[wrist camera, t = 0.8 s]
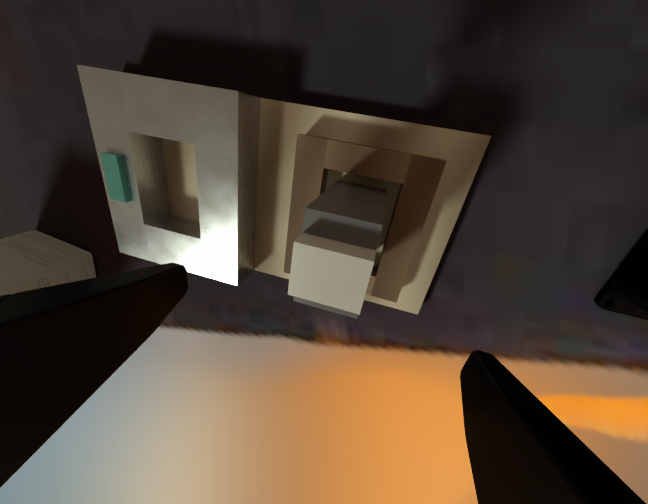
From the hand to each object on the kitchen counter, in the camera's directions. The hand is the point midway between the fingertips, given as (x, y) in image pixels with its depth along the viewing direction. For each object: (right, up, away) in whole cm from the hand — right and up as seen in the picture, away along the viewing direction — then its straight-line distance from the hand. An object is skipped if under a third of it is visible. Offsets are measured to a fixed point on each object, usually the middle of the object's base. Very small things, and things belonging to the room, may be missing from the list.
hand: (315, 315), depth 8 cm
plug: (+2, +4, +9) cm, 10 cm away
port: (-9, +7, +12) cm, 16 cm away
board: (-3, +6, +11) cm, 13 cm away
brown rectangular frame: (+3, +4, +10) cm, 11 cm away
